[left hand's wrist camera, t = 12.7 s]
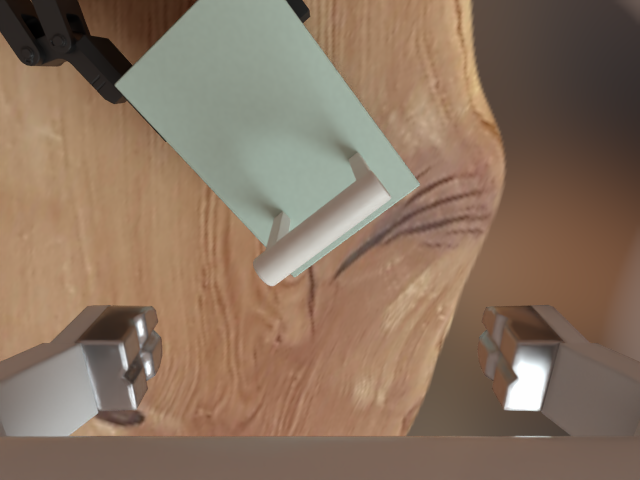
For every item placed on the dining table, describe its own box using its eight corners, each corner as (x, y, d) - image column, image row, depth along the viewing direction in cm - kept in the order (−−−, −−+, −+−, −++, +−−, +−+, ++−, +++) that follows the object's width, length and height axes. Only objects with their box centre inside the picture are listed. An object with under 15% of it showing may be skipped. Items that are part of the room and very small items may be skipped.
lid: (417, 181, 24) (462, 229, 16) (295, 272, 26) (287, 350, 19) (250, -47, 19) (213, -117, 12) (120, 84, 22) (22, 91, 14)
